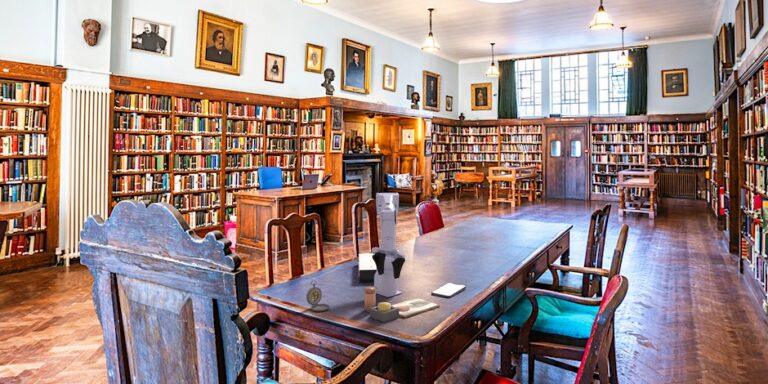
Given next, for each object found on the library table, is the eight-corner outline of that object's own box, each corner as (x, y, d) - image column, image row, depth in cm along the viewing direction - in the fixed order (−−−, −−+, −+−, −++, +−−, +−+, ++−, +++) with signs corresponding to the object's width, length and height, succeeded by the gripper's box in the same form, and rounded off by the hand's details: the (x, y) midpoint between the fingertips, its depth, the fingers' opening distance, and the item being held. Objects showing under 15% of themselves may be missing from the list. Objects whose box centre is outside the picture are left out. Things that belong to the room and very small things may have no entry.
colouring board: (381, 309, 162) (381, 307, 162) (416, 299, 174) (416, 297, 174) (404, 318, 153) (404, 316, 153) (439, 306, 165) (439, 304, 165)
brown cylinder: (362, 309, 163) (362, 288, 162) (370, 307, 166) (370, 286, 165) (369, 312, 160) (369, 290, 159) (377, 309, 163) (377, 288, 162)
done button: (375, 312, 155) (375, 304, 155) (384, 309, 158) (384, 301, 158) (383, 315, 152) (383, 307, 152) (393, 312, 155) (393, 304, 155)
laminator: (384, 283, 199) (384, 269, 198) (356, 283, 198) (356, 270, 197) (380, 264, 232) (380, 253, 232) (356, 265, 232) (356, 253, 231)
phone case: (449, 300, 175) (467, 289, 188) (449, 296, 175) (467, 285, 188) (430, 296, 180) (448, 286, 193) (429, 292, 180) (448, 282, 193)
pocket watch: (326, 312, 160) (325, 285, 159) (303, 311, 161) (303, 284, 161) (332, 305, 168) (332, 279, 167) (311, 304, 169) (310, 278, 169)
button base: (369, 316, 156) (369, 308, 155) (385, 311, 160) (385, 303, 160) (383, 322, 150) (383, 313, 150) (399, 317, 155) (399, 308, 155)
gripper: (381, 232, 159) (381, 270, 153) (410, 241, 167) (411, 277, 161) (368, 238, 163) (367, 274, 157) (397, 246, 172) (397, 281, 166)
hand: (389, 276), depth 160 cm, fingers open, 7 cm apart
